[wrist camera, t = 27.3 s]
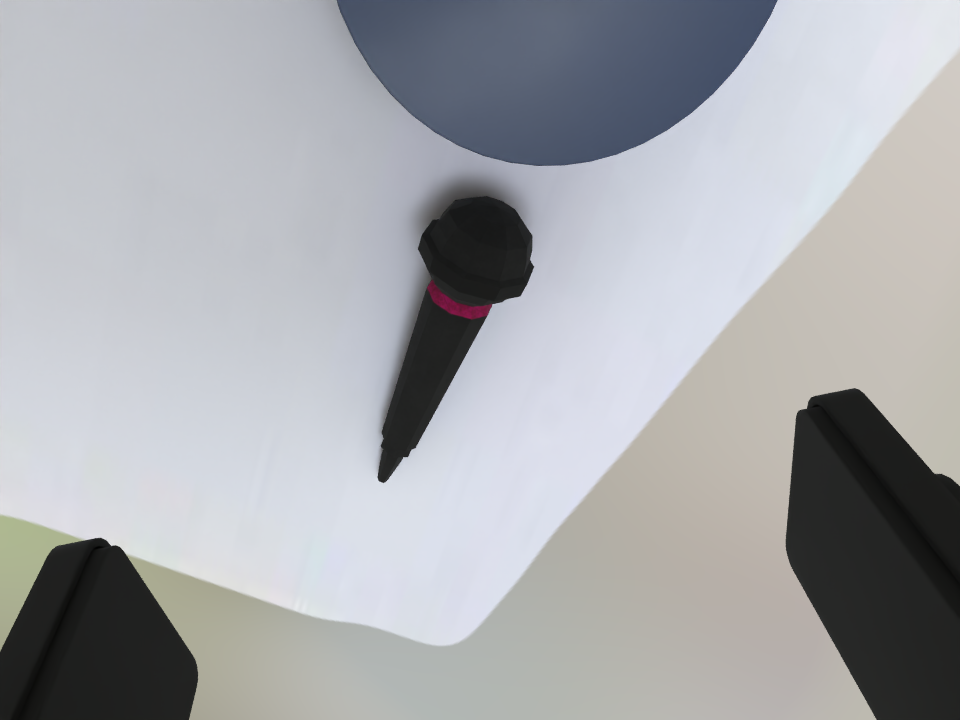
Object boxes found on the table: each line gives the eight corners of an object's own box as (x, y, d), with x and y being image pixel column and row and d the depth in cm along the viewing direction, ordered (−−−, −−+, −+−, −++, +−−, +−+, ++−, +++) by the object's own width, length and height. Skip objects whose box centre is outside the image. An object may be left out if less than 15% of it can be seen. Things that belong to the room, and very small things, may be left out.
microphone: (409, 442, 50) (524, 181, 38) (436, 513, 46) (572, 249, 34) (329, 445, 47) (426, 165, 35) (350, 521, 43) (465, 237, 31)
